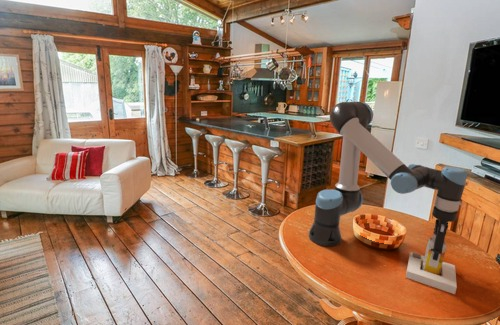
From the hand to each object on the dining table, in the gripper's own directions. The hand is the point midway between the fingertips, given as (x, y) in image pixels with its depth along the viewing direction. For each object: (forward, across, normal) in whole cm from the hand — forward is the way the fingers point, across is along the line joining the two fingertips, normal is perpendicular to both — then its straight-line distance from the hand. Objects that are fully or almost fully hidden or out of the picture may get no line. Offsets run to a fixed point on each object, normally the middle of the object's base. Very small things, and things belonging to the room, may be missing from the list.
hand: (433, 257), depth 113 cm
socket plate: (+8, 0, 0) cm, 8 cm away
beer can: (+8, 0, 0) cm, 8 cm away
